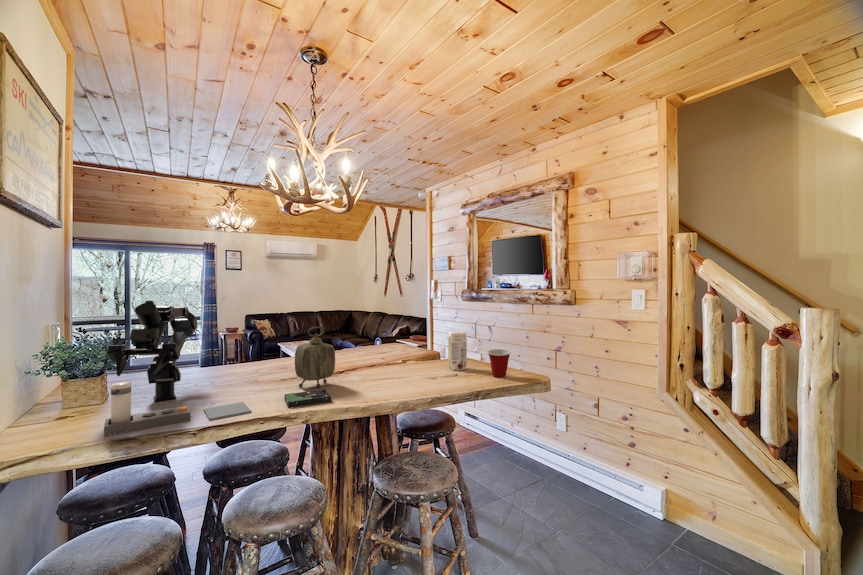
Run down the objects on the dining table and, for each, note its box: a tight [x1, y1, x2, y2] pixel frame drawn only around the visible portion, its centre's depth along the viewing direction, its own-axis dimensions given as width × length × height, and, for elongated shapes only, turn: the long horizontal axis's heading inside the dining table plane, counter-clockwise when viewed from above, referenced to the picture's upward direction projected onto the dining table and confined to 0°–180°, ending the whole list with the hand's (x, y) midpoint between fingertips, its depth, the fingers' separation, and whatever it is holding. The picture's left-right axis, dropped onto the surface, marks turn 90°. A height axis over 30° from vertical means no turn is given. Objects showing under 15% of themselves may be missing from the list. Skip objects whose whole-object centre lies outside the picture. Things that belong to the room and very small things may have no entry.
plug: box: [110, 381, 132, 424], centre depth 106 cm, size 7×4×13 cm, turn 16°
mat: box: [203, 401, 253, 421], centre depth 123 cm, size 12×12×1 cm
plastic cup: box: [487, 348, 512, 379], centre depth 173 cm, size 11×11×12 cm
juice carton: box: [447, 330, 468, 371], centre depth 189 cm, size 8×9×19 cm
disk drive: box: [283, 389, 332, 409], centre depth 134 cm, size 10×3×15 cm
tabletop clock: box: [294, 325, 336, 388], centre depth 154 cm, size 14×9×25 cm, turn 133°
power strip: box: [103, 405, 191, 436], centre depth 111 cm, size 8×20×3 cm, turn 129°
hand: (135, 374), depth 115 cm, fingers open, 9 cm apart
